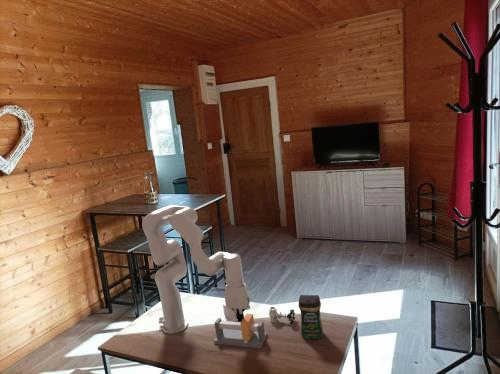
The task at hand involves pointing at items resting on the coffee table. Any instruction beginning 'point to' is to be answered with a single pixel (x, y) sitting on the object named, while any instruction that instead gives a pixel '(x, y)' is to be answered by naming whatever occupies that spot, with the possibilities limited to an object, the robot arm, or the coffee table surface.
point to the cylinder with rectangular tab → (228, 311)
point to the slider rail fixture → (239, 334)
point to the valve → (280, 315)
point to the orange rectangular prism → (247, 327)
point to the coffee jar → (310, 316)
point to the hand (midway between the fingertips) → (240, 320)
